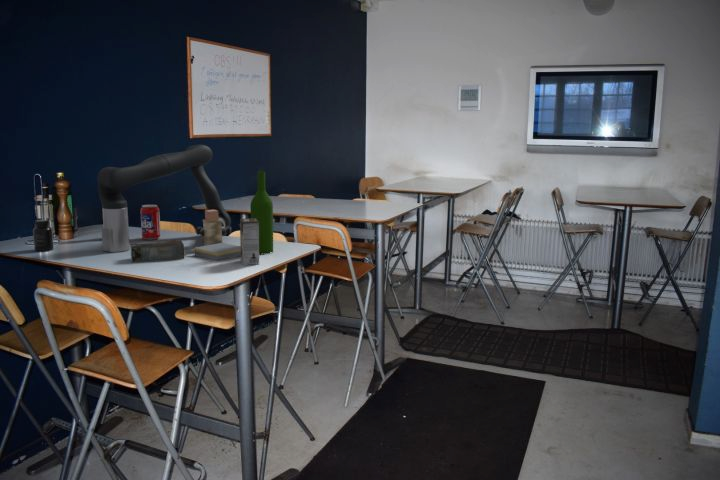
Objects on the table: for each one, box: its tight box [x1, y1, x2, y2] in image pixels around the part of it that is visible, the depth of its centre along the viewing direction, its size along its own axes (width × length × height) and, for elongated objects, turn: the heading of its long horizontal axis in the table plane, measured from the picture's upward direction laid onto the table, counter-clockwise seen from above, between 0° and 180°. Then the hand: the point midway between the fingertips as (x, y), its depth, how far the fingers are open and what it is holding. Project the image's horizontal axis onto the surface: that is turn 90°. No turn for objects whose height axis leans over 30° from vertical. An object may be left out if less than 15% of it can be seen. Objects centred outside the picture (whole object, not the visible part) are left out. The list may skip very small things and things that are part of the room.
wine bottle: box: [250, 171, 274, 254], centre depth 235 cm, size 9×9×32 cm
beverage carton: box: [129, 239, 185, 263], centre depth 222 cm, size 8×19×7 cm, turn 114°
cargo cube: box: [204, 209, 219, 221], centre depth 239 cm, size 4×4×4 cm
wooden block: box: [202, 219, 223, 246], centre depth 241 cm, size 6×6×12 cm
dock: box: [193, 242, 241, 261], centre depth 230 cm, size 14×14×3 cm
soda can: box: [140, 204, 161, 241], centre depth 260 cm, size 8×8×15 cm
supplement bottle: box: [32, 219, 54, 252], centre depth 233 cm, size 7×7×12 cm
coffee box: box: [239, 217, 260, 266], centre depth 218 cm, size 9×6×16 cm
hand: (212, 233), depth 240 cm, fingers closed on wooden block, 7 cm apart
